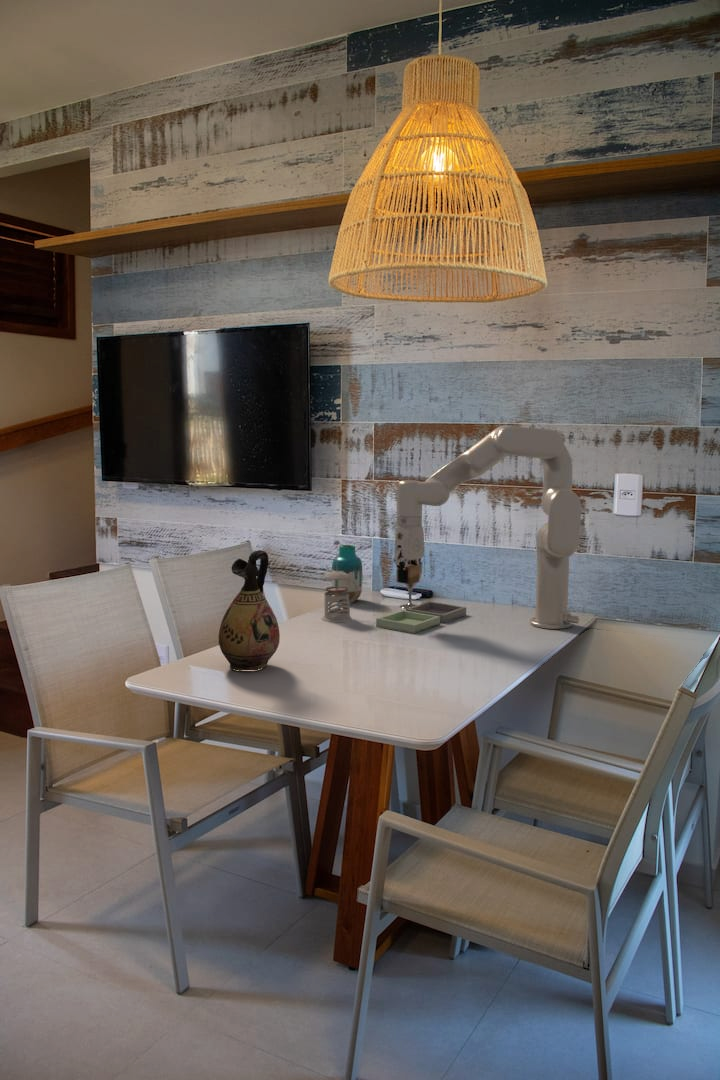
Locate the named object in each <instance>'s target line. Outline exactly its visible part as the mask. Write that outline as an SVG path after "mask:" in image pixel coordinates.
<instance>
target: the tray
mask: <svg viewBox="0 0 720 1080" xmlns="http://www.w3.org/2000/svg"><path fill="white" fill-rule="evenodd" d="M375 625H376V626H375V627H376V628H381V629H387V630H393V631H398V632H404V633H409V634H413V635H414V634H417V633H418V634H419V633H420V632H423V631H426V630H428V629H431V628H434V627H437V626H440V625H441V623H440V617H439V616H434V615H428V614H422V613H416V612H410V611H406V610H403V609H402V610H399V611H395V612H393V613H389V614H386V615H383V616H380V617H377V618H376V619H375Z"/></svg>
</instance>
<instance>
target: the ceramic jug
mask: <svg viewBox="0 0 720 1080" xmlns="http://www.w3.org/2000/svg"><path fill="white" fill-rule="evenodd" d="M258 560H260V561H259V563H260V564H259V568H258V567H257V561H258ZM269 563H270V562H269V554H268V552H266V551H264V550H263V549H260V550H259V549H258V550H254V551H253V552H251V553H250V555H249V556H248V560H247V561H246V560H244V559H242V558H237V559H236V560H235V561H234V562H233V564H232V566H231V571H232V572H231V573H233V574H234V575H236V576H238V577H240V578H242V579H244V583H243V586H242V587H241V589H240V590H239V592H238V593H237V594H236V596H235V597H234V598H233V600H232V602H231V603H230V605H229V607H228V608H227V610H226V611H225V613H224V616H223V617H222V619H221V623H220V627H219V631H218V636H217V637H218V645H219V649H220V652H221V653H222V654H223V656H224V657H225V659H226V661H227V662H228V663H229V666H230V667H231V668H232V669H235V670H258V669H261V668H264V667H265V666H266V667H267V665H268V663H269V660H270V659H271V658H272V657H273V656H274V654H275V653H276V651H277V650H278V648H279V644H280V641H281V640H280V638H281V636H280V635H281V634H280V627H279V623H278V619H277V617H276V614H275V612H274V610H273V609H272V607H271V605H270V604H269V602H268V600H267V598H266V597H265V596H264V595H263V593H264V585H265V579H266V576H267V572H268V569H269ZM230 667H229V668H230ZM266 667H265V668H266ZM231 668H230V669H231ZM265 668H264V669H265ZM232 669H231V670H232ZM258 671H259V670H258Z"/></svg>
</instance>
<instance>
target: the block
mask: <svg viewBox="0 0 720 1080" xmlns="http://www.w3.org/2000/svg"><path fill="white" fill-rule="evenodd" d="M406 570H408V583H405V584H413V583H417V584H418V583H420V580H419V576H420V566H419V565H412V564H407V569H406ZM396 583H400V582H398V569H397V568H396ZM400 584H401V583H400ZM405 584H404V585H405Z"/></svg>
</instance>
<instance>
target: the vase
mask: <svg viewBox="0 0 720 1080" xmlns="http://www.w3.org/2000/svg"><path fill="white" fill-rule="evenodd" d="M338 549H339V550H338V554H337V555H336V556H335V557H334V558H333V560H332V563H331V564H332V566H331V572H333V571H336V570H337V571H341V572H344V573H346V574H348V575H349V576H350V577H349V578H348V579H350V580H352V581H353V582H355V583H356V585H357V587H358V595H357V587H356V588H355V585H354V583H353V582H352V581H350V584H349V580H348V579H345V580H331V587H333V586H342V587H346V588H348V590H347V591H345V592H347V593H348V594H349V601H350V600H352V599H353V598H354V596H355V598H356V595H357V598H356V599H355V598H354V599H355V600H354V599H353V600H352V601H356V600H357V599H359V598H360V596H361V594H362V591H363V579H364V578H363V574H364V572H363V562H362V560H361V558H360V557H359V556H357V553H356V546H355V545H354V544H340V545H339V548H338ZM347 580H348V583H347ZM355 592H356V595H355ZM333 596H341V595H338V594H335V595H333ZM340 601H343V600H340ZM352 601H350V602H352Z"/></svg>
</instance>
